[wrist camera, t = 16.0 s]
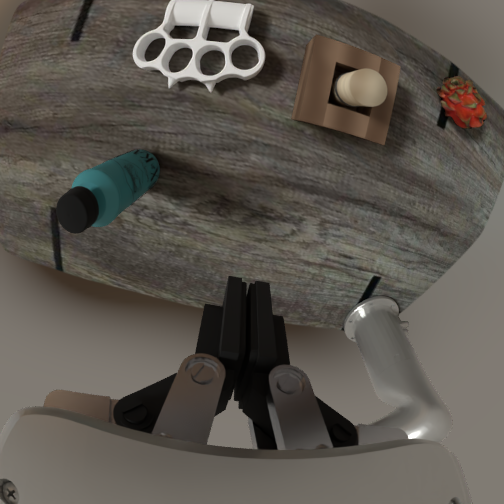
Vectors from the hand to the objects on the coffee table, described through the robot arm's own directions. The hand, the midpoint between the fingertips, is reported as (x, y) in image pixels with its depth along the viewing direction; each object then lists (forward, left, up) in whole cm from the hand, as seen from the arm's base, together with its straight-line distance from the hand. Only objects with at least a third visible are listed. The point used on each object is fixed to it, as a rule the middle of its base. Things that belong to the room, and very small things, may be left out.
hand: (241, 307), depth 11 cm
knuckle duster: (+9, -17, -31) cm, 36 cm away
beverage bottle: (+15, +2, -30) cm, 34 cm away
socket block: (-11, -14, -30) cm, 35 cm away
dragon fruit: (-32, -21, -30) cm, 49 cm away
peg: (-11, -14, -29) cm, 34 cm away
